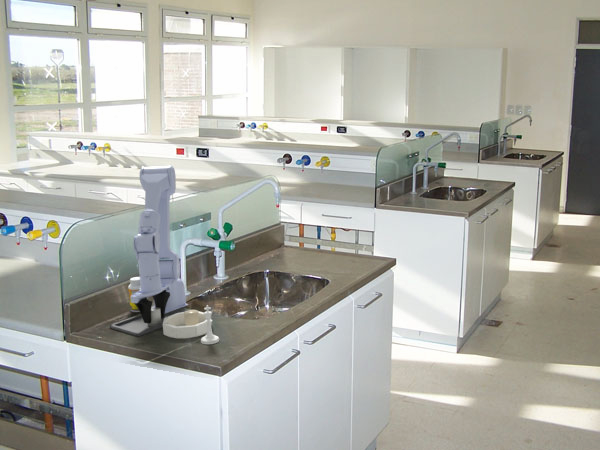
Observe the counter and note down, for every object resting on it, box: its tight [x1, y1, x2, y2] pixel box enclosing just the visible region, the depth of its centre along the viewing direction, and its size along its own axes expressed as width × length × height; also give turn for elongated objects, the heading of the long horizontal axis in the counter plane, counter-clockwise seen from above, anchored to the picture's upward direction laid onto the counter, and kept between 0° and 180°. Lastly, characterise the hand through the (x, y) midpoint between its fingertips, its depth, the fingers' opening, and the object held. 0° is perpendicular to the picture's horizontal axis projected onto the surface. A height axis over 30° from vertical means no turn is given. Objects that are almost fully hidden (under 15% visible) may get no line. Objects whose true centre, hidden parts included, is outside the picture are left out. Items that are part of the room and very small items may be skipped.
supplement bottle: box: [127, 276, 149, 313], centre depth 219 cm, size 6×6×10 cm
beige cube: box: [183, 309, 199, 326], centre depth 201 cm, size 4×4×4 cm
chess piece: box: [200, 304, 220, 345], centre depth 190 cm, size 5×5×10 cm
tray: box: [109, 313, 168, 337], centre depth 206 cm, size 14×13×1 cm
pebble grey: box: [147, 306, 162, 327], centre depth 205 cm, size 4×4×4 cm
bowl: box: [162, 310, 212, 339], centre depth 199 cm, size 13×13×4 cm
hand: (154, 319), depth 205 cm, fingers open, 5 cm apart
